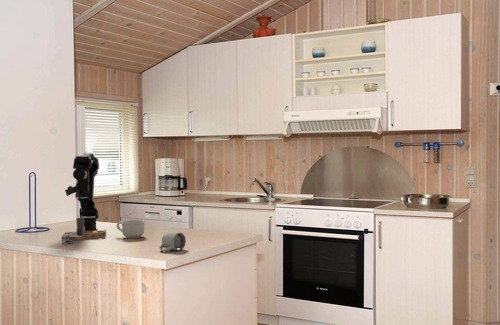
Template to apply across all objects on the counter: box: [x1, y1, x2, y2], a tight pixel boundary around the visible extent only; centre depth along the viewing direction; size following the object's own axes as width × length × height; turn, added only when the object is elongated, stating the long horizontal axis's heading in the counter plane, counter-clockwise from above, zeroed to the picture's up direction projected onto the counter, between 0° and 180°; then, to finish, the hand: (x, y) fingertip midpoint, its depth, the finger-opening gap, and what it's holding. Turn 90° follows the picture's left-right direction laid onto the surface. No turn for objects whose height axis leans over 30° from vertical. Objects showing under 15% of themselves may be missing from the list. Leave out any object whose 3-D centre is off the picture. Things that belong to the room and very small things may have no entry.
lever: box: [62, 217, 85, 237], centre depth 250 cm, size 10×15×9 cm
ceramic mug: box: [158, 231, 187, 252], centre depth 225 cm, size 11×8×8 cm
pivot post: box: [61, 237, 74, 245], centre depth 245 cm, size 5×5×3 cm
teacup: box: [116, 219, 145, 240], centre depth 257 cm, size 14×11×8 cm
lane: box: [61, 228, 107, 242], centre depth 258 cm, size 20×9×3 cm, turn 102°
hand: (83, 212), depth 263 cm, fingers closed
